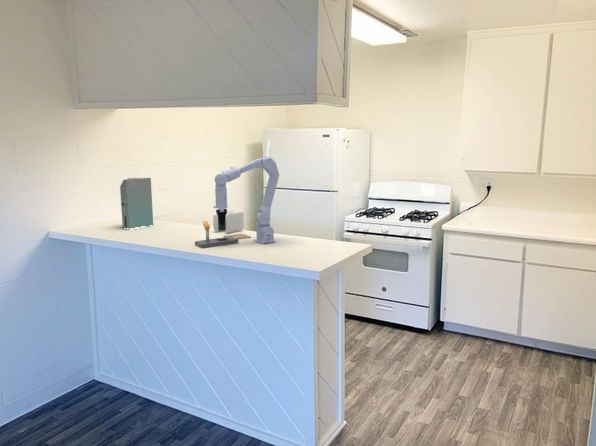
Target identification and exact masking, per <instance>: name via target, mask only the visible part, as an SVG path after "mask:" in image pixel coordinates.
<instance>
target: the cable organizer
mask: <svg viewBox="0 0 596 446" xmlns="http://www.w3.org/2000/svg"><path fill="white" fill-rule="evenodd" d="M244 217H245V215H244V212H243V211H241V210H239V211H233V210H231V209H229V210H228V209H227V214H226V230H218V215H217V213H216V212H214V213H213V215H212V218H213V219H212V220H213V221H212V222H213V231H214V232H218V233H221V232H225V233H226V234H233V233H234V232H236V233H240V232H242V231H243V229H244V227H245V224H244V223H245V219H244Z"/></svg>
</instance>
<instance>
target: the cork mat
mask: <svg viewBox="0 0 596 446" xmlns="http://www.w3.org/2000/svg"><path fill="white" fill-rule="evenodd" d="M224 237H233V238H235V239H238V240H243V239H251V238H252V237H251V236H250V235H248V234H244V233H235V234H233V233H232V234H225V235H223V238H224Z"/></svg>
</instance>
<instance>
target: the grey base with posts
mask: <svg viewBox="0 0 596 446" xmlns="http://www.w3.org/2000/svg"><path fill="white" fill-rule="evenodd" d="M234 244H239V239H235V238H233V237H224V236H223V237H217V238H210V229H205V239H203V240H195V241H194V246H196V247H198V248H200V249H206V248H214V247H221V246H228V245H229V246H230V245H234Z"/></svg>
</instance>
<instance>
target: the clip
mask: <svg viewBox="0 0 596 446" xmlns="http://www.w3.org/2000/svg"><path fill="white" fill-rule="evenodd" d="M202 224H203V227H204V230H206V229H209V230H210V229H211V225H210V223H208V221H207V220H204V221H203V222H202Z"/></svg>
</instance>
